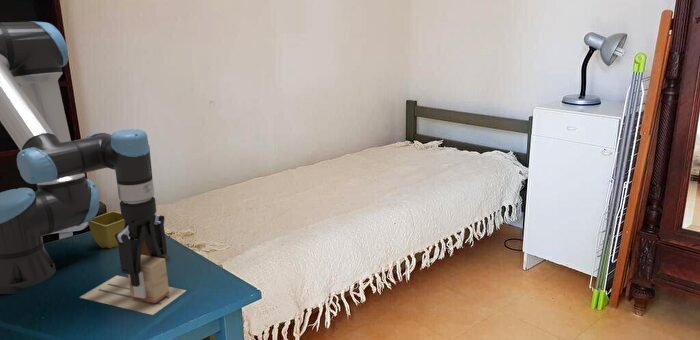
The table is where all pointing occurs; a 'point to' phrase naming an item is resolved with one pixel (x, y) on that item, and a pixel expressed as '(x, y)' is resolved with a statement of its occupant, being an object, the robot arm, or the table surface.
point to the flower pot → (107, 228)
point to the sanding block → (152, 279)
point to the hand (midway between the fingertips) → (148, 291)
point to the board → (128, 296)
